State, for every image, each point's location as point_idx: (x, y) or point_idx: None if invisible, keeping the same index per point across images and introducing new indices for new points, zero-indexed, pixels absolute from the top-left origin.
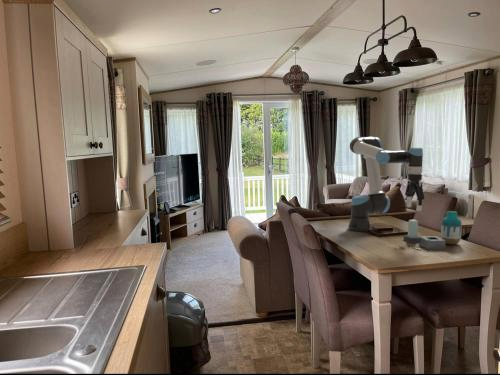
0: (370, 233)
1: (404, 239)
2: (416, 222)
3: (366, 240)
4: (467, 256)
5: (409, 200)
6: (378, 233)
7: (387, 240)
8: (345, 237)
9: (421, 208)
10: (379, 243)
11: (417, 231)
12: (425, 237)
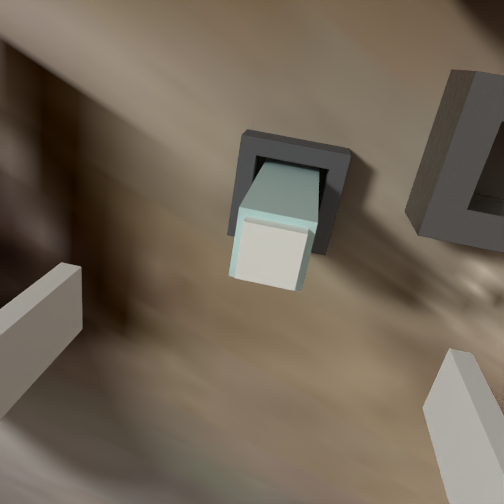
0: None
1: None
2: (313, 236)
3: (211, 428)
4: None
5: (3, 374)
6: None
7: (235, 332)
8: (132, 477)
9: (485, 387)
10: (291, 408)
11: (318, 191)
12: (473, 213)
